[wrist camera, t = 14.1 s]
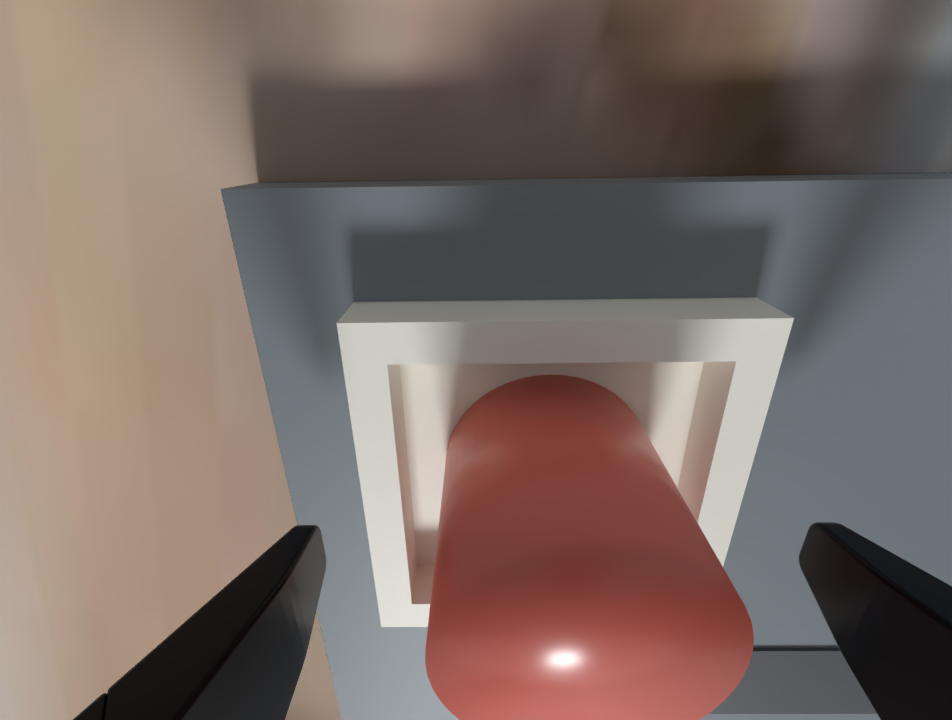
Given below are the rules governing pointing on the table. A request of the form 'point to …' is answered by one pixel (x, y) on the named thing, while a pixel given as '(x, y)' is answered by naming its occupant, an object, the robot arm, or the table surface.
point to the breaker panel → (611, 381)
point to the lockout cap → (574, 569)
